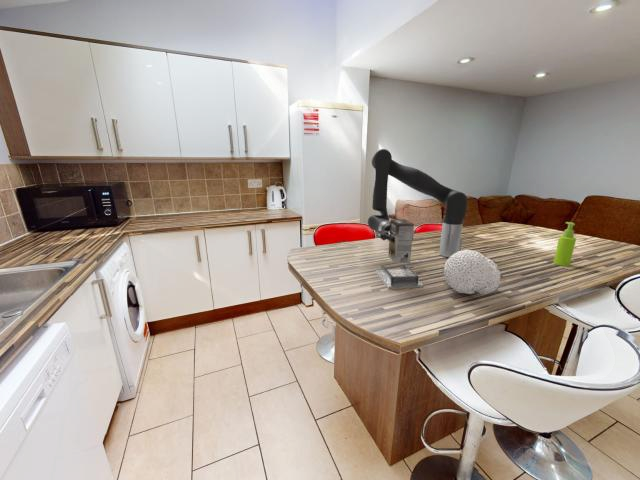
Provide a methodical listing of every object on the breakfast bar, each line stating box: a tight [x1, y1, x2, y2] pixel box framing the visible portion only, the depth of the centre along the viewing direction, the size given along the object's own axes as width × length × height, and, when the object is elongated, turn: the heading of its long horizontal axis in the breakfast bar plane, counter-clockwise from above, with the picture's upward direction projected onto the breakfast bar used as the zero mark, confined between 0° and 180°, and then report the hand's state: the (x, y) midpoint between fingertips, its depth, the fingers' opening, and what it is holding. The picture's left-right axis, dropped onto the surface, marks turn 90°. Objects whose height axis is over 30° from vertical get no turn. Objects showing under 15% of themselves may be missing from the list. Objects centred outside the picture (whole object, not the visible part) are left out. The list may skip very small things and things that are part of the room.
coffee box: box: [388, 218, 415, 265], centre depth 109 cm, size 9×6×16 cm
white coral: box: [443, 249, 502, 296], centre depth 102 cm, size 20×18×16 cm
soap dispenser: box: [553, 221, 577, 267], centre depth 127 cm, size 6×7×20 cm
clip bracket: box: [375, 264, 424, 290], centre depth 113 cm, size 14×17×4 cm
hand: (402, 240), depth 107 cm, fingers closed on coffee box, 6 cm apart
